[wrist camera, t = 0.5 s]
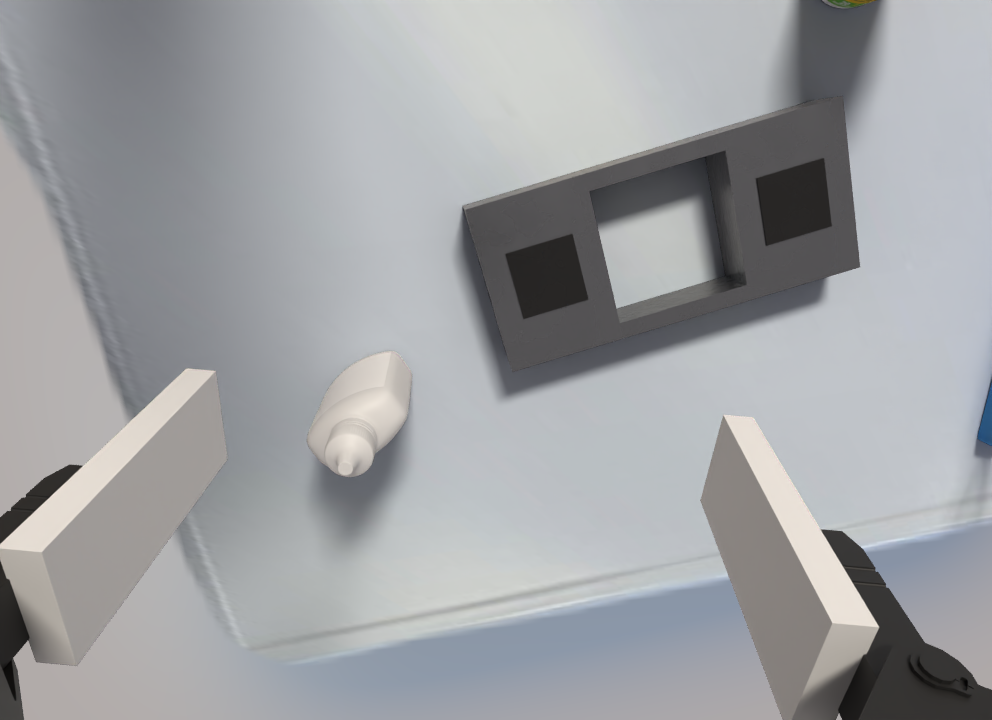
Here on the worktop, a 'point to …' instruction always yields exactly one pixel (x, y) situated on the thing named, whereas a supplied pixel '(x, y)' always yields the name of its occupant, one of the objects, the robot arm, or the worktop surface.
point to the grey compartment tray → (740, 222)
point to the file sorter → (987, 422)
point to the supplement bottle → (846, 3)
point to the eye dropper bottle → (361, 413)
